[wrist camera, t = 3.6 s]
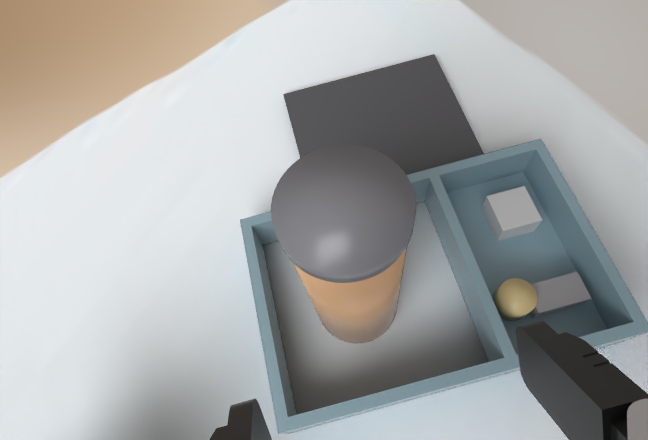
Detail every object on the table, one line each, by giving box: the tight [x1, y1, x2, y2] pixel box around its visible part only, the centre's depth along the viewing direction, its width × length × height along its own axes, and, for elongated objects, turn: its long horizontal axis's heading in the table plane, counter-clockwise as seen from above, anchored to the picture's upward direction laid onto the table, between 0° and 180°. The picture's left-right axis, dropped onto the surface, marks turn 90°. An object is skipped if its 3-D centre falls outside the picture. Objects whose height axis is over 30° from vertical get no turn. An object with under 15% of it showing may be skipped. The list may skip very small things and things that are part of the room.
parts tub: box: [240, 139, 648, 434], centre depth 26 cm, size 19×12×3 cm, turn 104°
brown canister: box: [271, 144, 416, 343], centre depth 21 cm, size 5×5×13 cm
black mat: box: [283, 55, 484, 175], centre depth 32 cm, size 12×10×1 cm
